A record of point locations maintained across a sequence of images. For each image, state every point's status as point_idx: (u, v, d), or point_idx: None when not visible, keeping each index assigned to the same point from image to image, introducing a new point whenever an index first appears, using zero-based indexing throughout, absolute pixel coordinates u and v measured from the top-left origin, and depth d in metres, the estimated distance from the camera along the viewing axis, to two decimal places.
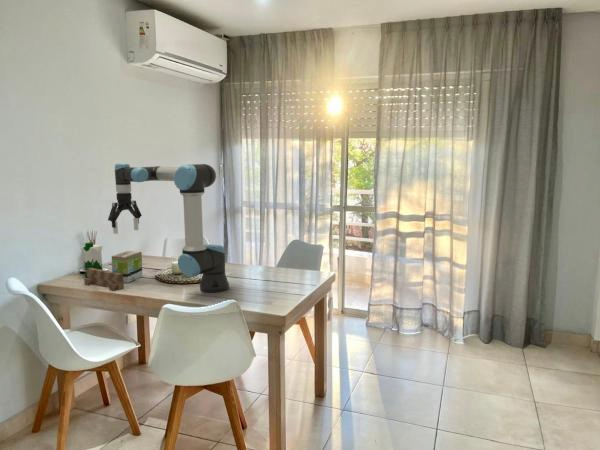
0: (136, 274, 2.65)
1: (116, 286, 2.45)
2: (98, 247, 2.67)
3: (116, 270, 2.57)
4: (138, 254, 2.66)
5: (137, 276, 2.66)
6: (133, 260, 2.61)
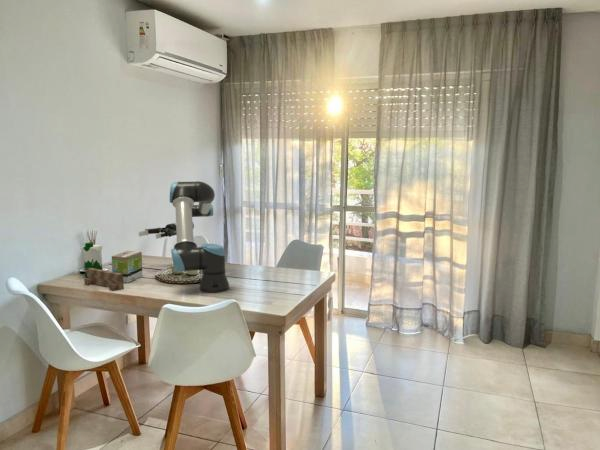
0: (136, 274, 2.65)
1: (116, 286, 2.45)
2: (98, 247, 2.67)
3: (116, 270, 2.57)
4: (138, 254, 2.66)
5: (137, 276, 2.66)
6: (133, 260, 2.61)
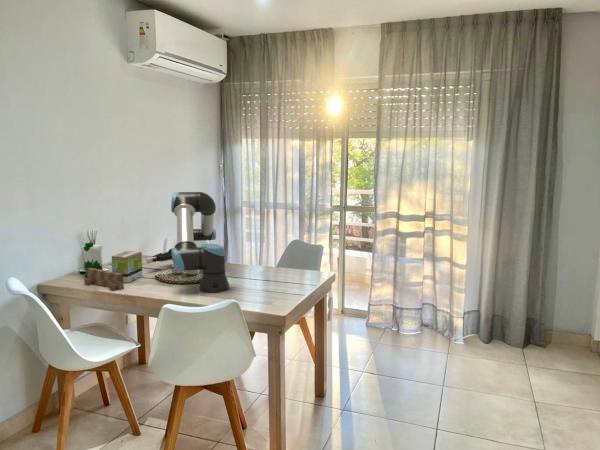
0: (136, 274, 2.65)
1: (116, 286, 2.45)
2: (98, 247, 2.67)
3: (116, 270, 2.57)
4: (138, 254, 2.66)
5: (137, 276, 2.66)
6: (133, 260, 2.61)
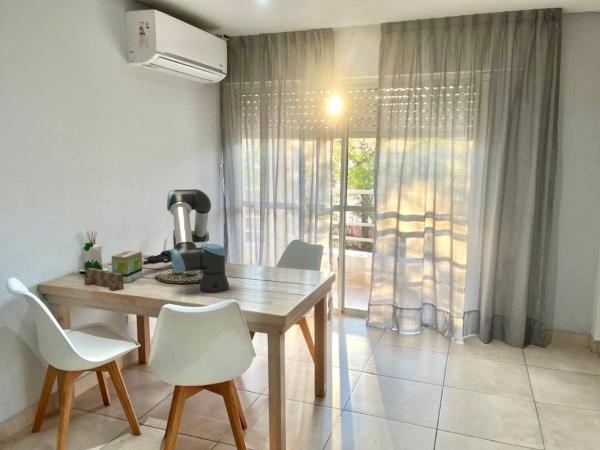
0: (136, 274, 2.65)
1: (116, 286, 2.45)
2: (98, 247, 2.67)
3: (116, 270, 2.57)
4: (138, 254, 2.66)
5: (137, 276, 2.66)
6: (133, 260, 2.61)
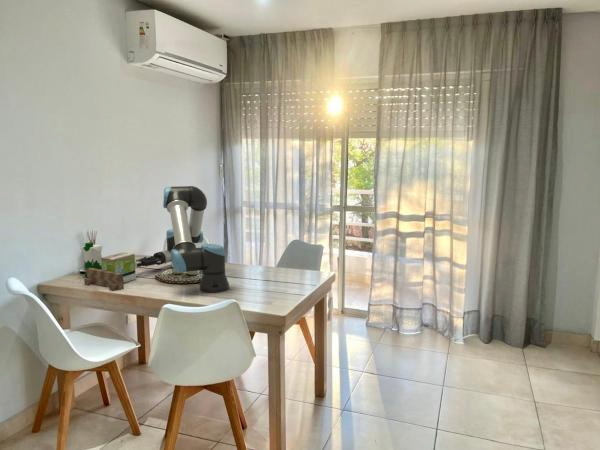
0: (127, 277, 2.59)
1: (116, 286, 2.45)
2: (98, 247, 2.67)
3: None
4: (130, 256, 2.59)
5: (128, 279, 2.59)
6: (123, 262, 2.55)
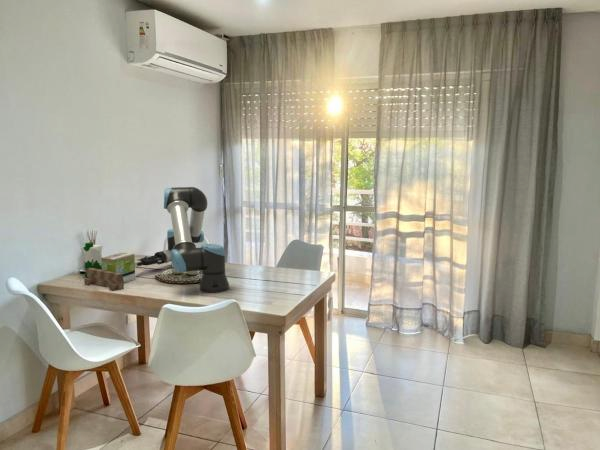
0: (127, 277, 2.59)
1: (116, 286, 2.45)
2: (98, 247, 2.67)
3: None
4: (130, 256, 2.60)
5: (128, 279, 2.60)
6: (123, 262, 2.56)
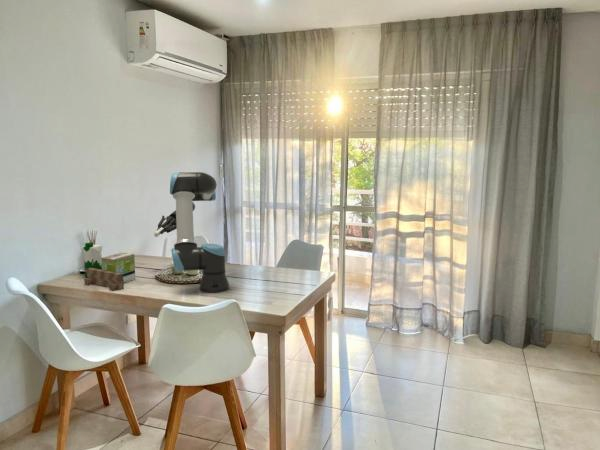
0: (127, 277, 2.59)
1: (116, 286, 2.45)
2: (98, 247, 2.67)
3: None
4: (130, 256, 2.60)
5: (128, 279, 2.60)
6: (123, 262, 2.56)
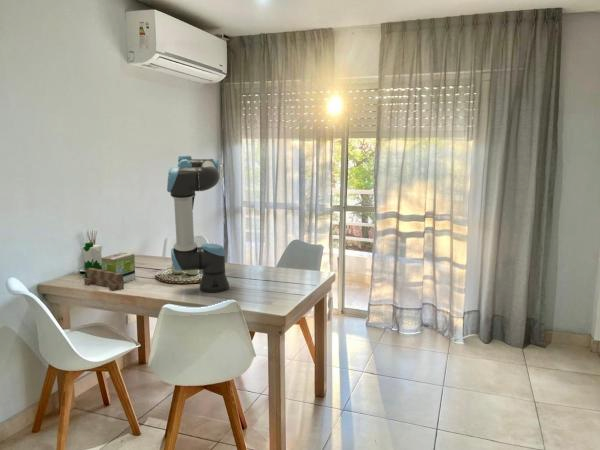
0: (127, 277, 2.59)
1: (116, 286, 2.45)
2: (98, 247, 2.67)
3: None
4: (130, 256, 2.60)
5: (128, 279, 2.60)
6: (123, 262, 2.56)
